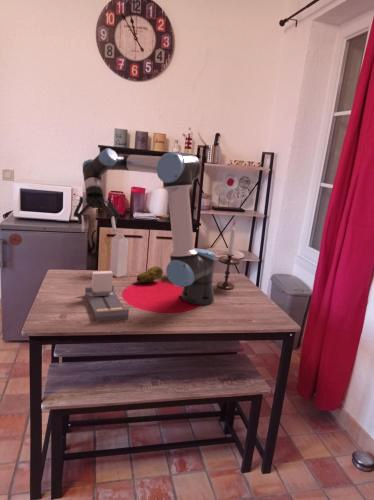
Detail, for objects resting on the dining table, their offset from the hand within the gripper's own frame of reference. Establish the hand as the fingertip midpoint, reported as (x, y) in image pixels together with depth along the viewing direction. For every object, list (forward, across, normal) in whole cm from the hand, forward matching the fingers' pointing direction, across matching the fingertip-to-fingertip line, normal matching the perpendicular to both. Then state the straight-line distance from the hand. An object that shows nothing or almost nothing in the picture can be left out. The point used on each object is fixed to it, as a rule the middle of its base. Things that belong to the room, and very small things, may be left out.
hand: (99, 230), depth 160 cm
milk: (+7, -15, -33) cm, 37 cm away
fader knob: (+25, 0, -11) cm, 27 cm away
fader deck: (+32, 0, -7) cm, 33 cm away
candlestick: (+24, -64, -15) cm, 70 cm away
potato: (+16, -27, -24) cm, 40 cm away
